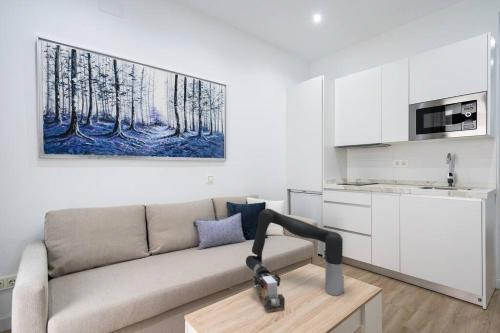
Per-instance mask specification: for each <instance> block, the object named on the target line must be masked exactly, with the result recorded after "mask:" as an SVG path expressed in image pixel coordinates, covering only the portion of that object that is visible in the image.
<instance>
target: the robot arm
mask: <svg viewBox="0 0 500 333" xmlns="http://www.w3.org/2000/svg"><path fill="white" fill-rule="evenodd" d="M270 224H273V225H274V224H275V225H277V226H280V227H282V228H284V230H286V231H287V232H289V233H290V234H292V235H295V236H298V237H299V238H303V239H310V240H317V241H319V242H322V243H324V244H325V245H324V255H325V256H324V257H325V259H324V260H325V261H324V262H325V263H324V264H325V270H324V272H325V275H324V276H325V278H324V281H325V282H324V283H325V284H324V292H326V293H327V294H329V295H331V296H341V295H342V294H344V291H345V289H344V288H345V287H344V286H345V284H344V283H345V282H344V281H345V280H344V279H345V277H344V275H343V252H344V251H343V249H344V247H343V243H344V241H343V236H342V235H341V234H340V233H339V232H336V231H332V230H329V229H323V228H320V227H318V226H316V225H313V224H310V223H309V222H305V221H302V220H300V219H297V218H293V217H292V216H288V215H285V214H282V213H280V212H278V211H275V210H273V209H271V208H265V209H263V210H261V211H260V212H259V214H258V218H257V227H256V233H255V235H254V236H255V237H254V241H253V244H252V248H251V252H252V254H253V255H247V256H246V258H245V264H246V266H247V268H249V269H250V270H252V271H253V272H254V275H253V276H252V277H253V279H252V280H253V283H254V285H255V286H259V287H260V288H261V289H262V288H264V284H263V282H262V277H265V276H272V277H273V278H274V280H275V281H277V287H280V286H281V284H280V283H281V277H280V275H278V274H277V273H275V272H274V274H272V273H271V272H270V270H268V268H267V267H266V265H265V264H263V251H264V247H265V243H266V234H267V230H268V228H269V227H270Z"/></svg>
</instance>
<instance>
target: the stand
mask: <svg viewBox="0 0 500 333" xmlns="http://www.w3.org/2000/svg"><path fill="white" fill-rule="evenodd" d="M285 298H286V297H285V296H284V295H283V294H282V293H279V294H278V293H277V298H276V299H270V297H269V296H265V300H264V298H263V297H262V294H261V295H260V294H259V296H258V299H259V301H260V302H261V304H262V305H263V308H264V309H265V311H266V313H267V314H271V313H277V312H283V311H285V309H286V308H285V305H286V304H285V302H286V300H285Z"/></svg>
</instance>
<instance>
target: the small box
mask: <svg viewBox="0 0 500 333" xmlns="http://www.w3.org/2000/svg"><path fill="white" fill-rule="evenodd" d="M262 282H263V284H264V288H261V295H262V297H263V298H264V300H265V296H269V297H270V299H276V298H278V286H277V281H275V279H274V278H273V277H272V276H265V277H262Z"/></svg>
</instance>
